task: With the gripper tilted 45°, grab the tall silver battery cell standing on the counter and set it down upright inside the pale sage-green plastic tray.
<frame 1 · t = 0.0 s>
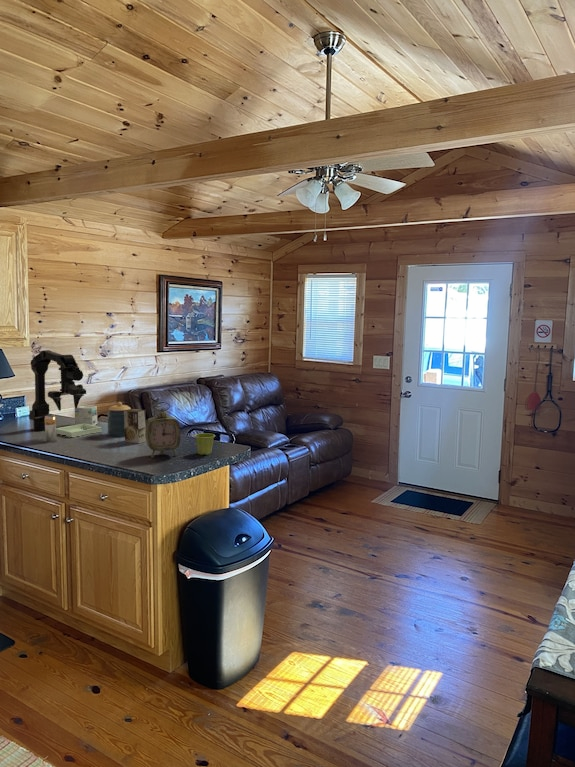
hand: (67, 409, 297), 15 cm above the countertop, tool pointing down, fingers open, 9 cm apart
cell tray: (78, 432, 310), on the countertop
tabletop clock: (162, 455, 265), on the countertop
plant pot: (204, 453, 270), on the countertop
coffee box: (135, 441, 292), on the countertop
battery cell: (51, 441, 290), on the countertop
canister: (120, 434, 307), on the countertop
light bulb box: (86, 425, 330), on the countertop
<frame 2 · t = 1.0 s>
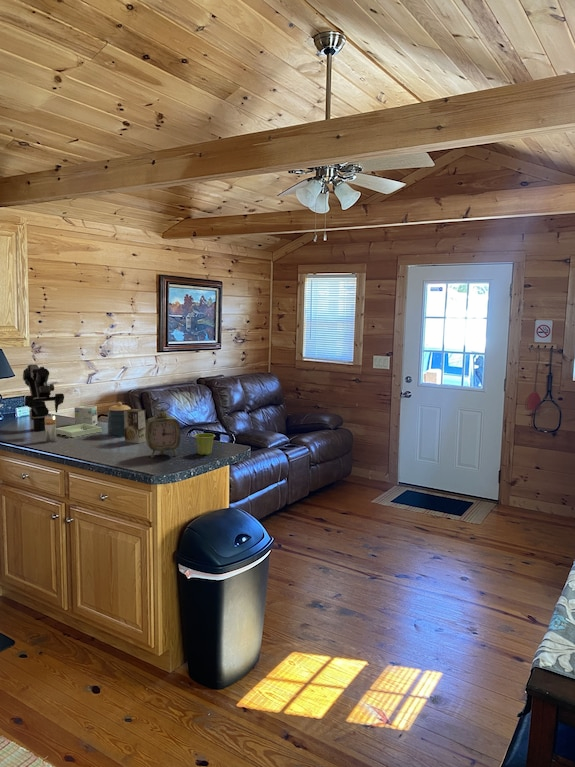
hand: (47, 412, 295), 13 cm above the countertop, tool tilted 45°, fingers open, 9 cm apart
nothing on the countertop moved.
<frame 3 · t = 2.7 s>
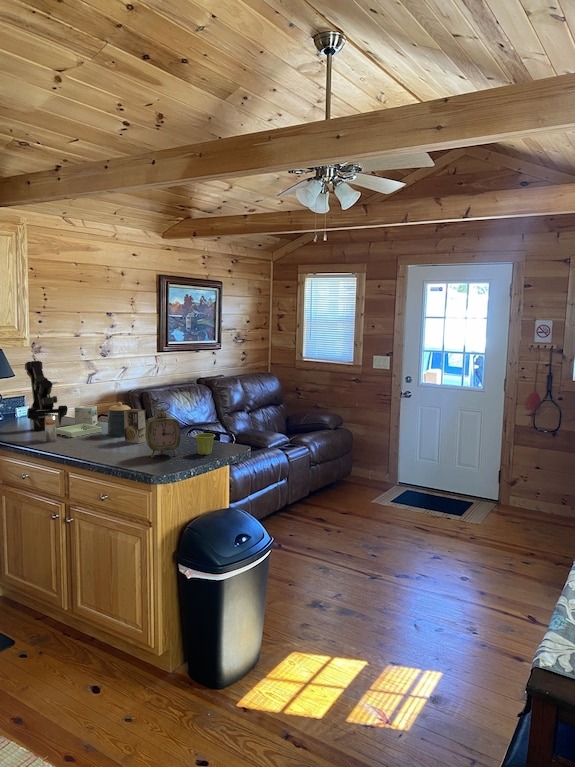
hand: (50, 425, 289), 8 cm above the countertop, tool tilted 45°, fingers open, 9 cm apart
nothing on the countertop moved.
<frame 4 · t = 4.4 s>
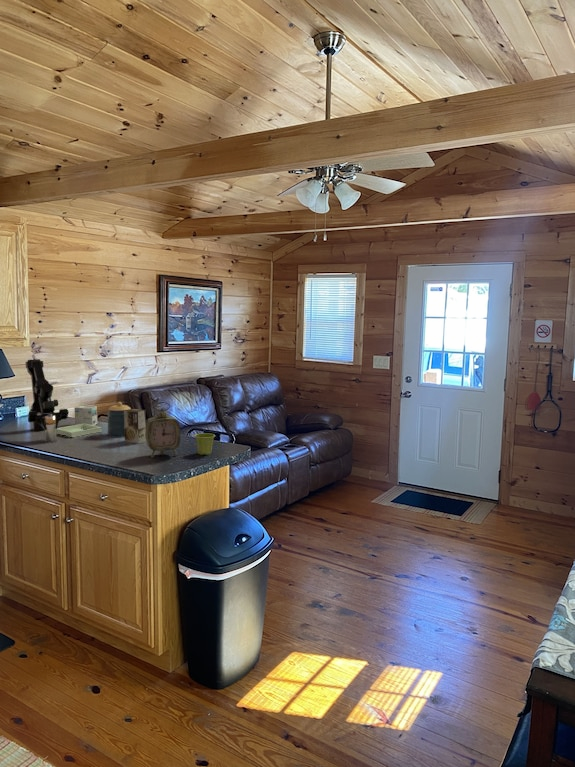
hand: (51, 429, 288), 7 cm above the countertop, tool tilted 45°, fingers closed on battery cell, 5 cm apart
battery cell: (51, 441, 290), on the countertop, touching gripper
everything else where it was.
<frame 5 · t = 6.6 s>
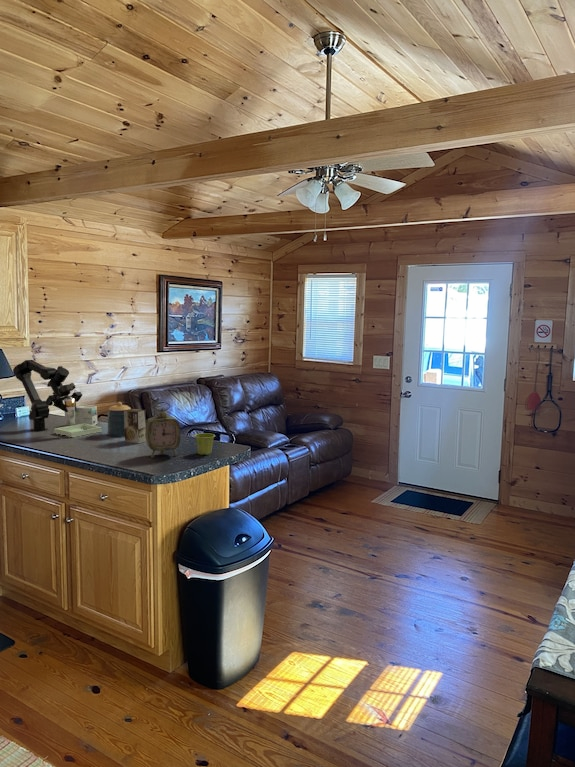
hand: (71, 411, 298), 14 cm above the countertop, tool tilted 45°, fingers closed on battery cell, 5 cm apart
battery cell: (70, 423, 300), point 7 cm above the countertop, touching gripper
everything else where it was.
when the fingers open (9 cm above the countertop, at t = 9.3 s): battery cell drops 1 cm, resting on cell tray.
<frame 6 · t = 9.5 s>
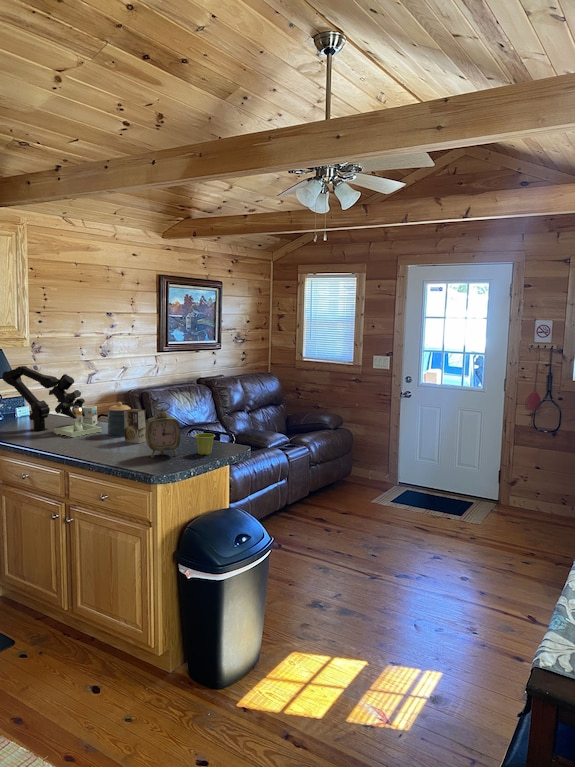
hand: (80, 417, 308), 9 cm above the countertop, tool tilted 45°, fingers open, 7 cm apart
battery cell: (78, 431, 310), point 1 cm above the countertop, touching cell tray
everything else where it was.
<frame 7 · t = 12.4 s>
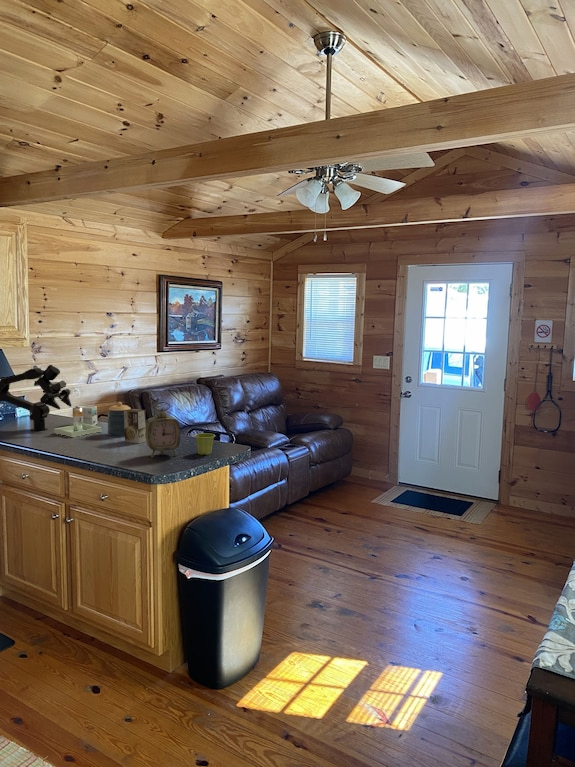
hand: (65, 407, 310), 13 cm above the countertop, tool tilted 45°, fingers open, 9 cm apart
nothing on the countertop moved.
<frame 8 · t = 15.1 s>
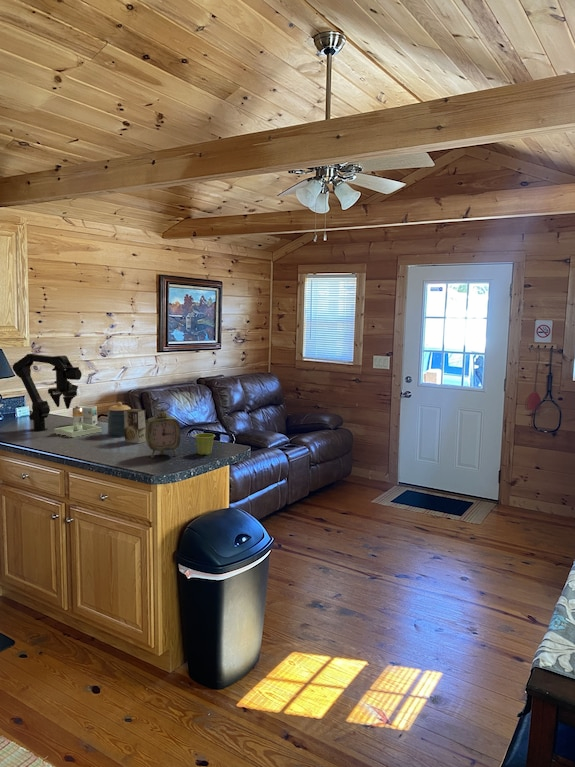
hand: (62, 407, 311), 13 cm above the countertop, tool pointing down, fingers open, 9 cm apart
nothing on the countertop moved.
at the end: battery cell inside the target area on the cell tray (0.0 cm from its centre), point 0.6 cm above the cell tray's base; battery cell tilted 0°; the gripper is holding nothing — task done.
